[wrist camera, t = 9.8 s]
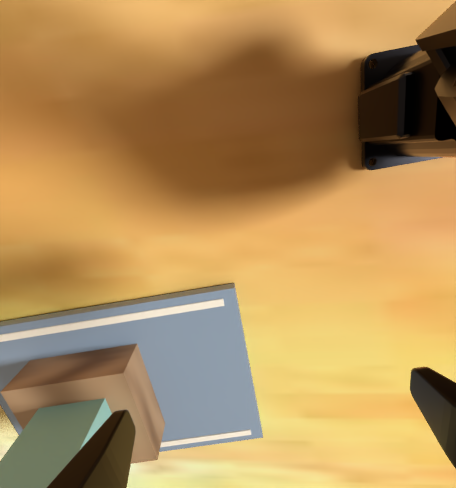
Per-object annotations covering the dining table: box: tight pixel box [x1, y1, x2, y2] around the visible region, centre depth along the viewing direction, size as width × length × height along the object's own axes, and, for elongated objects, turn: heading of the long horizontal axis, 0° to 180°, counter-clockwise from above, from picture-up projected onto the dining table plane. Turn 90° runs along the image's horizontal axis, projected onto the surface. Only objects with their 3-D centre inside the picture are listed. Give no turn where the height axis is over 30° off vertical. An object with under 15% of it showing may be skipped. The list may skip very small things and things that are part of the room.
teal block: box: [0, 398, 112, 488], centre depth 17 cm, size 5×5×6 cm
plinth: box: [1, 344, 165, 463], centre depth 21 cm, size 9×9×3 cm
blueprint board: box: [0, 283, 263, 452], centre depth 23 cm, size 22×16×1 cm
